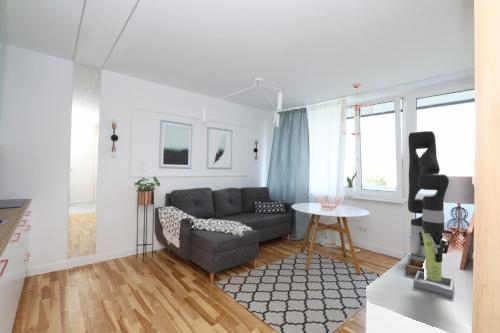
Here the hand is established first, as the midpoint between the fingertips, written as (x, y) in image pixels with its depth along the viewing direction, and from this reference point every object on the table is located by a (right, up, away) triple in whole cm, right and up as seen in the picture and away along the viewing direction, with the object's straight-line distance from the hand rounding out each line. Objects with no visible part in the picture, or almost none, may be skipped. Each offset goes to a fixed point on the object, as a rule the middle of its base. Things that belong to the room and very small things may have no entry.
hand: (433, 259), depth 102 cm
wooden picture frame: (+5, -12, +13) cm, 18 cm away
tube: (0, -9, 0) cm, 9 cm away
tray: (0, -12, 0) cm, 12 cm away
